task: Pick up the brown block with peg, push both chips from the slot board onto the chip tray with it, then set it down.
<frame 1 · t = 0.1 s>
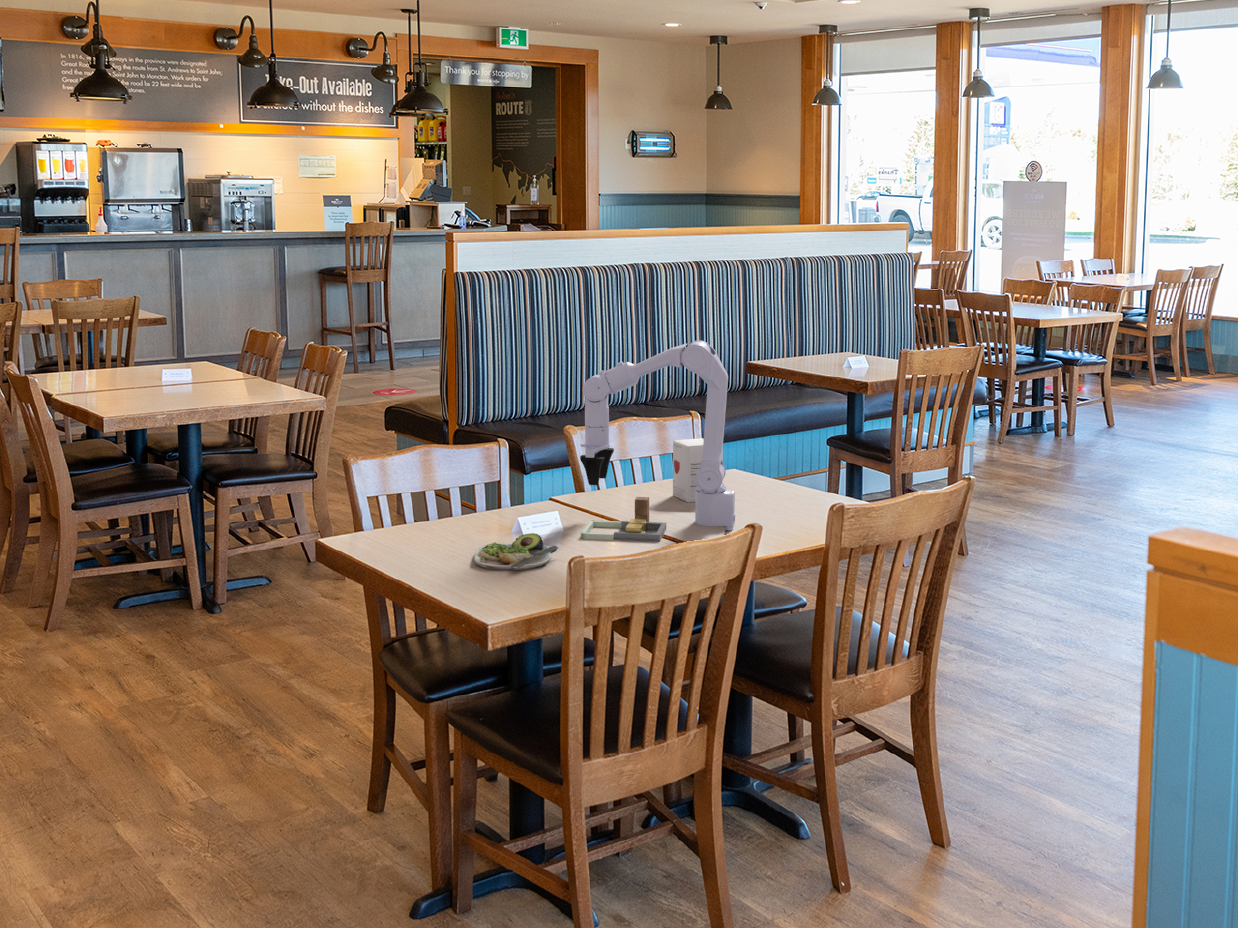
hand: (597, 481, 295), 10 cm above the table, tool pointing down, fingers open, 7 cm apart
chip b: (634, 536, 280), point 1 cm above the table, touching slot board
chip a: (637, 531, 285), point 1 cm above the table, touching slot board
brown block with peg: (642, 526, 293), on the table
salad plate: (514, 561, 266), on the table
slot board: (640, 538, 282), on the table
supplement box: (694, 498, 322), on the table
chip tray: (602, 536, 284), on the table
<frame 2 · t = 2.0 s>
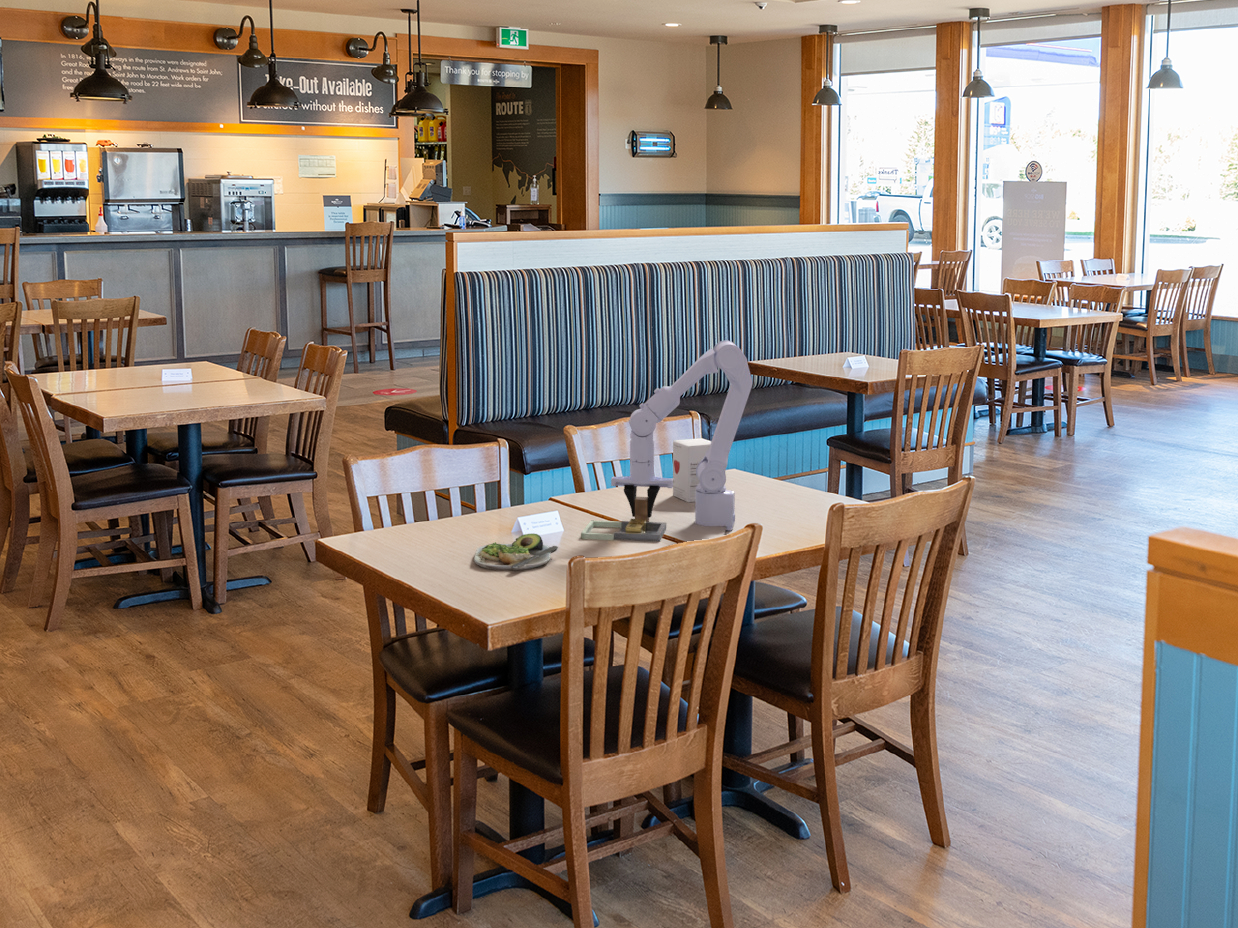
hand: (642, 516, 292), 3 cm above the table, tool pointing down, fingers closed on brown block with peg, 3 cm apart
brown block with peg: (642, 526, 293), on the table, touching gripper
everything else where it was.
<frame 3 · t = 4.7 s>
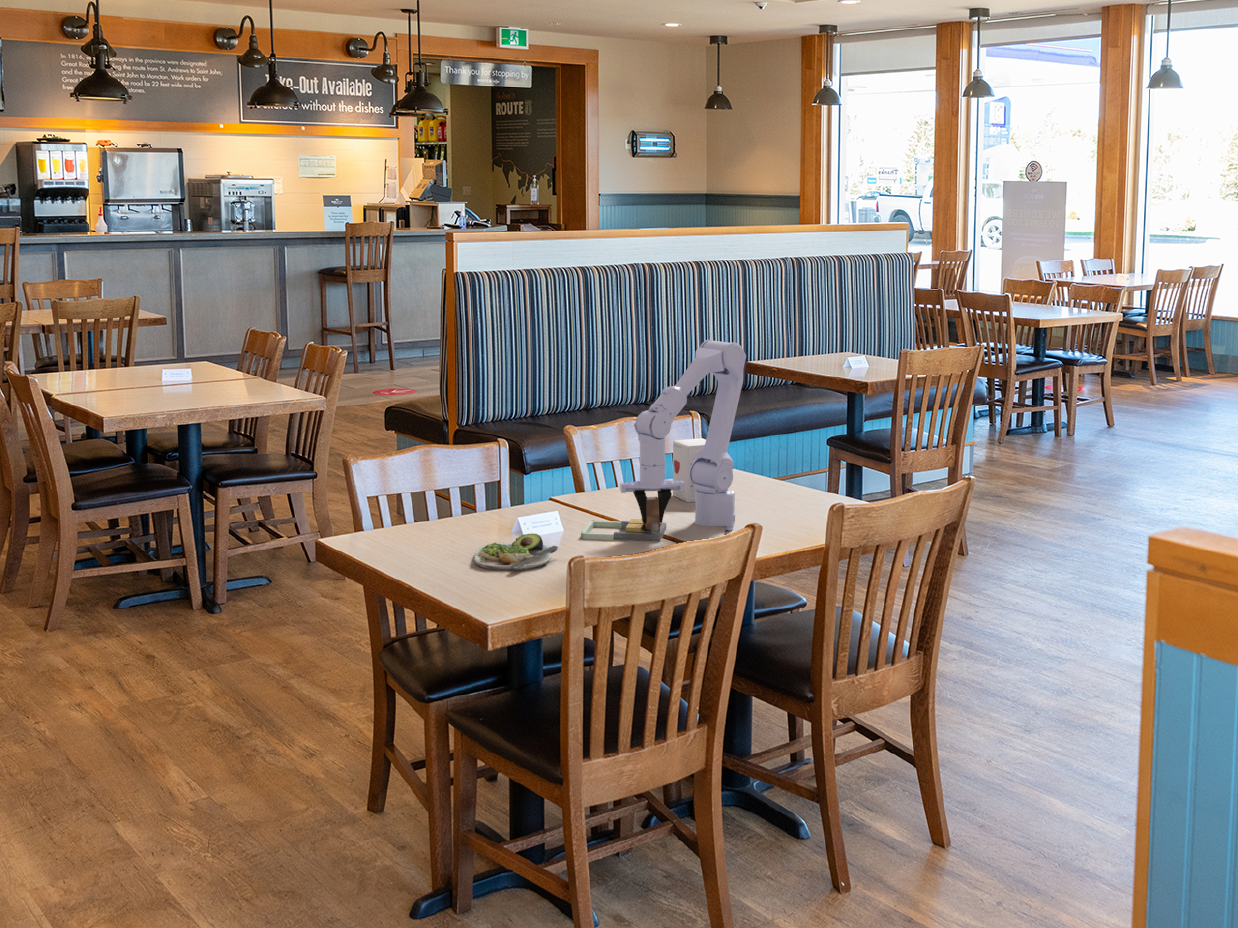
hand: (652, 521, 281), 4 cm above the table, tool pointing down, fingers closed on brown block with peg, 3 cm apart
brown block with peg: (652, 528, 282), point 2 cm above the table, touching gripper
everything else where it was.
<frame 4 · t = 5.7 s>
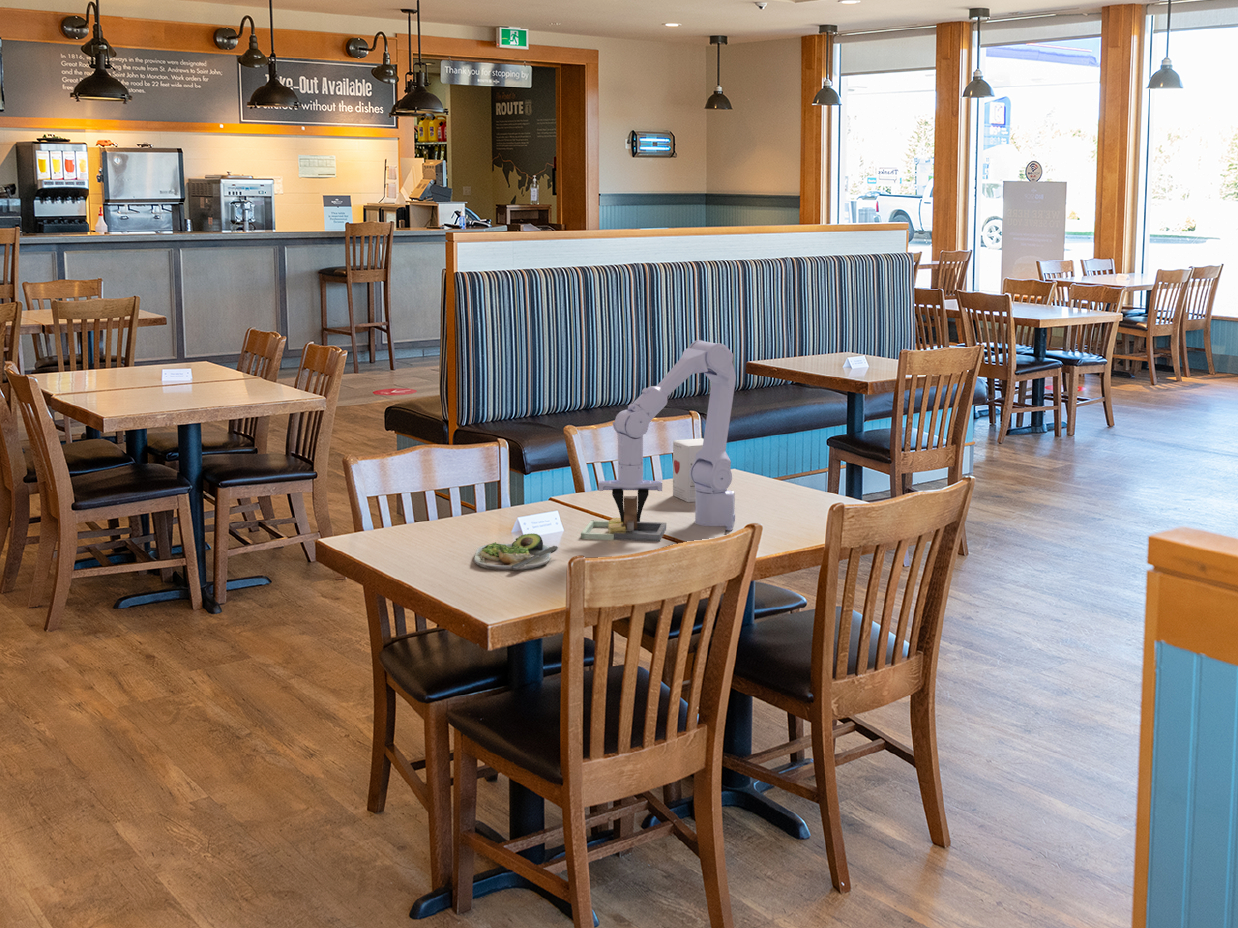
hand: (630, 520, 282), 4 cm above the table, tool pointing down, fingers closed on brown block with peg, 3 cm apart
chip b: (617, 535, 281), point 1 cm above the table
chip a: (618, 530, 286), point 1 cm above the table, touching chip tray, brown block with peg
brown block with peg: (630, 527, 283), point 2 cm above the table, touching chip a, gripper
everything else where it was.
when the fingers open (4 cm above the table, at t = 9.6 s): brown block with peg stays where it is, on the table.
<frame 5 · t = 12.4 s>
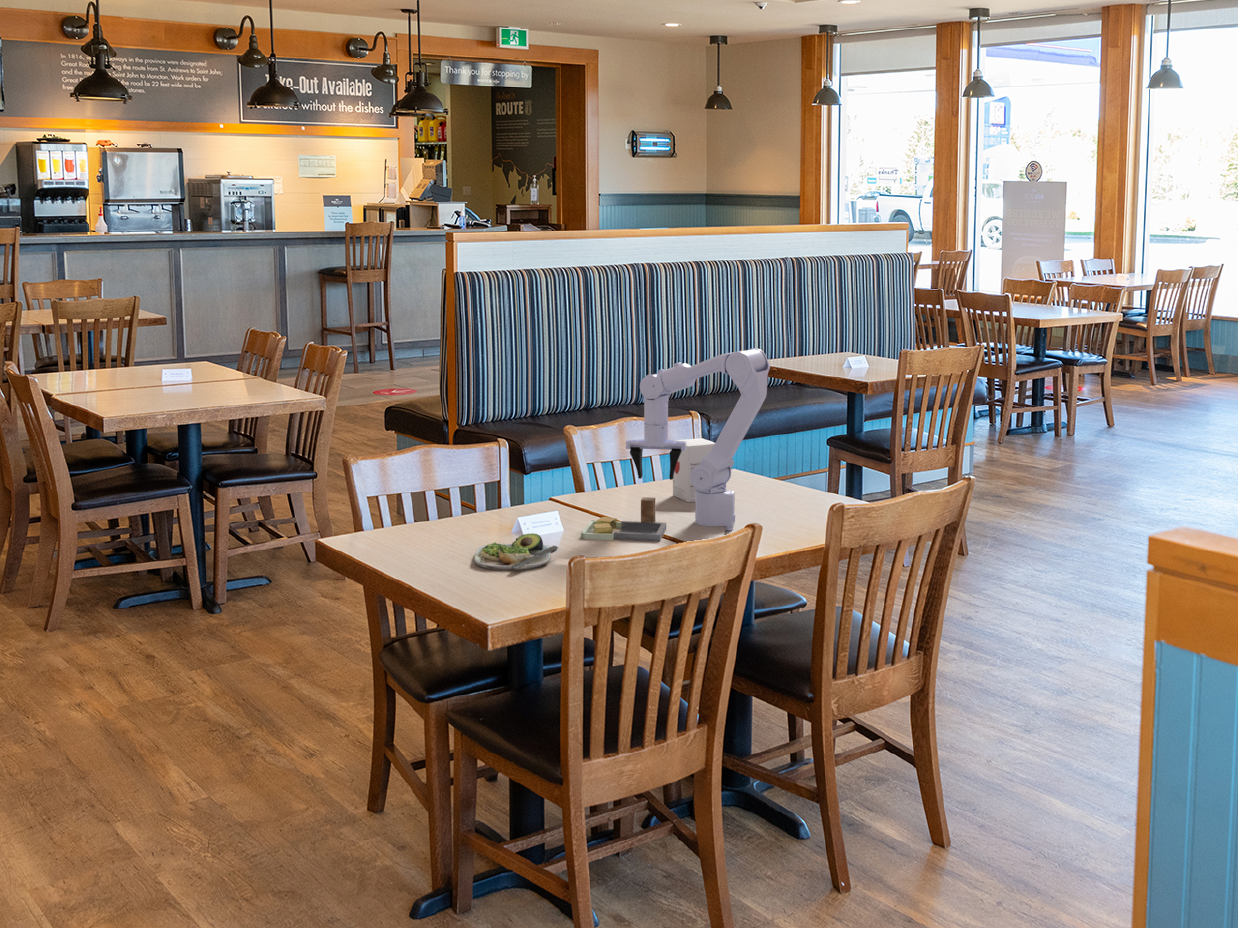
hand: (655, 478, 299), 10 cm above the table, tool pointing down, fingers open, 7 cm apart
chip b: (602, 536, 281), point 1 cm above the table, touching chip tray
chip a: (606, 529, 287), point 1 cm above the table, touching chip tray
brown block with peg: (648, 527, 292), on the table
everything else where it was.
at the end: chip a inside the target area (3.1 cm from its centre), point 0.9 cm above the table; chip b inside the target area (3.0 cm from its centre), point 0.9 cm above the table; the gripper is holding nothing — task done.
